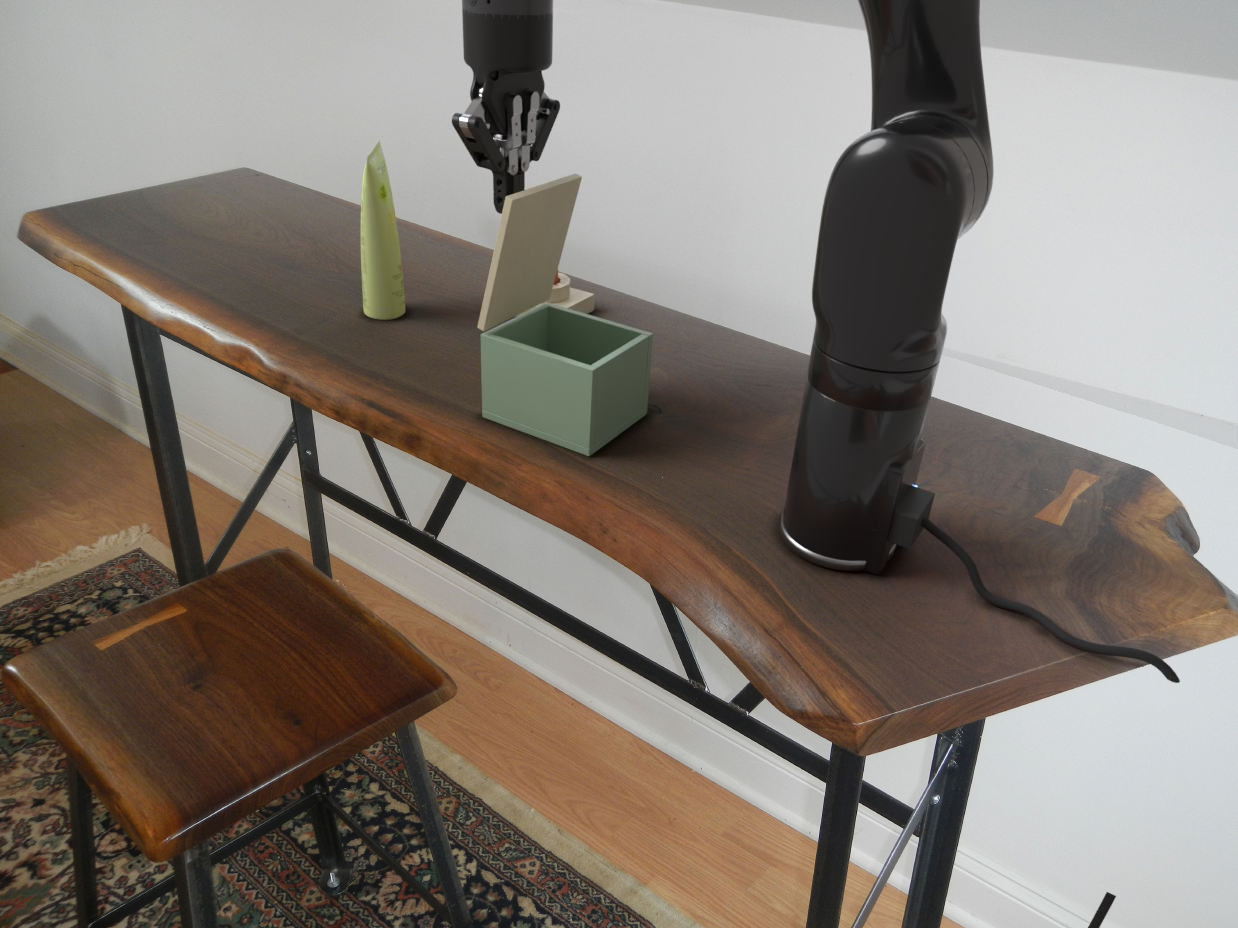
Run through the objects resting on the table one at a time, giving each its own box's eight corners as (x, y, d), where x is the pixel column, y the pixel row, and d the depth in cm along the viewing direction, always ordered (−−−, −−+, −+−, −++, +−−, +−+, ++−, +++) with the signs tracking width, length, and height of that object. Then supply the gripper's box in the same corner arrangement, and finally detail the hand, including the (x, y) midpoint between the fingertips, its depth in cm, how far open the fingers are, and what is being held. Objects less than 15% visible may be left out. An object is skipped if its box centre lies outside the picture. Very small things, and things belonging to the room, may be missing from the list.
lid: (582, 176, 89) (575, 173, 89) (512, 200, 81) (505, 196, 81) (549, 299, 97) (543, 296, 97) (483, 332, 89) (476, 327, 89)
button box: (594, 310, 119) (595, 280, 117) (557, 330, 113) (558, 298, 111) (529, 292, 123) (529, 262, 121) (490, 310, 117) (490, 279, 115)
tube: (417, 316, 115) (407, 149, 104) (380, 326, 111) (366, 155, 101) (391, 302, 118) (379, 139, 108) (354, 311, 115) (339, 144, 105)
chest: (647, 414, 96) (653, 333, 92) (589, 456, 88) (592, 370, 84) (545, 380, 102) (546, 302, 97) (482, 417, 94) (480, 334, 89)
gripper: (493, 15, 73) (496, 238, 82) (589, 6, 83) (583, 205, 91) (418, 5, 76) (430, 221, 85) (519, -3, 86) (520, 191, 95)
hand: (509, 212), depth 88 cm, fingers closed
